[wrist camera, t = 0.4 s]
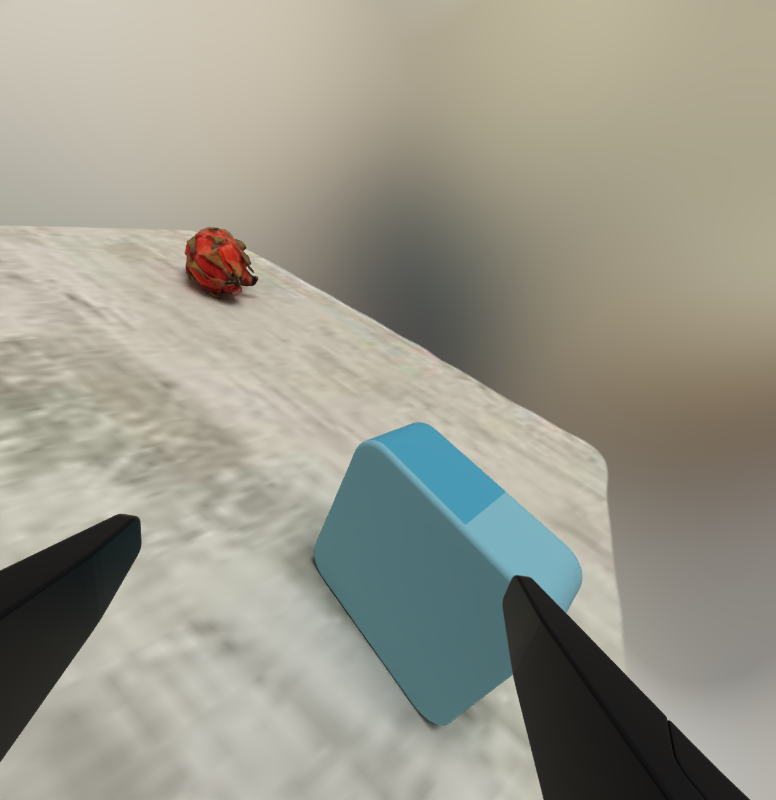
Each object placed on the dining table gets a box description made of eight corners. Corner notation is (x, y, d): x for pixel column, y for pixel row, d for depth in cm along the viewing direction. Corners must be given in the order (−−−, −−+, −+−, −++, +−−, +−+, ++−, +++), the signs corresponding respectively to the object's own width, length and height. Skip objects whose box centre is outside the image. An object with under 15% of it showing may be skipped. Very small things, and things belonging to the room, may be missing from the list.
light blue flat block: (475, 676, 23) (599, 571, 17) (433, 737, 20) (568, 635, 14) (356, 530, 29) (416, 410, 22) (307, 558, 25) (362, 428, 19)
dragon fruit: (206, 278, 58) (232, 327, 52) (157, 240, 50) (181, 293, 45) (247, 242, 57) (278, 288, 52) (203, 198, 49) (234, 247, 44)
